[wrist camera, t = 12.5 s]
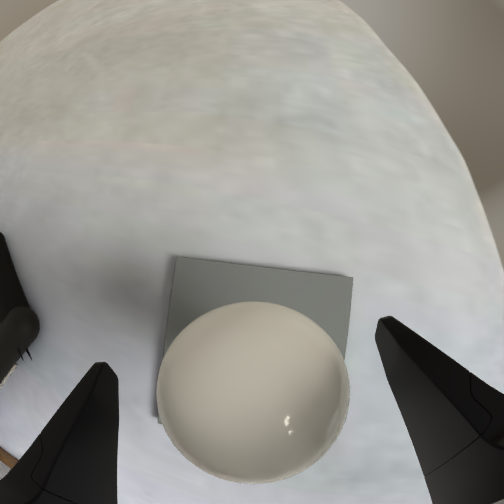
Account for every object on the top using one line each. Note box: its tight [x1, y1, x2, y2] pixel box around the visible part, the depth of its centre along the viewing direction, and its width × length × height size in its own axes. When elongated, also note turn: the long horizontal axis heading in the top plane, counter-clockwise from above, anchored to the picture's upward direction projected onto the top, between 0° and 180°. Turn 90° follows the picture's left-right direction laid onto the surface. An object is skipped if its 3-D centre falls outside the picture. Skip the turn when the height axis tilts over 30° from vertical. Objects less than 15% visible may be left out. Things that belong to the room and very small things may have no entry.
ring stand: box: [0, 448, 18, 469], centre depth 11 cm, size 13×13×5 cm
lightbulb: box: [156, 301, 350, 484], centre depth 11 cm, size 6×6×11 cm
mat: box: [158, 257, 353, 424], centre depth 17 cm, size 11×11×1 cm
